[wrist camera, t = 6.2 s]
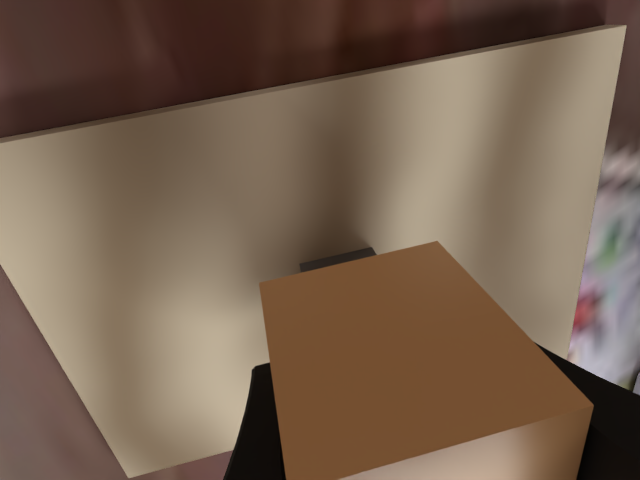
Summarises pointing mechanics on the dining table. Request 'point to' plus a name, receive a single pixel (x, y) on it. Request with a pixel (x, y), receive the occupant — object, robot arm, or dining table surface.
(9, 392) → the dining table surface
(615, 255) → the dining table surface
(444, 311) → the tan cardboard cube
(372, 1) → the dining table surface
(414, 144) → the flat beige rectangular board
